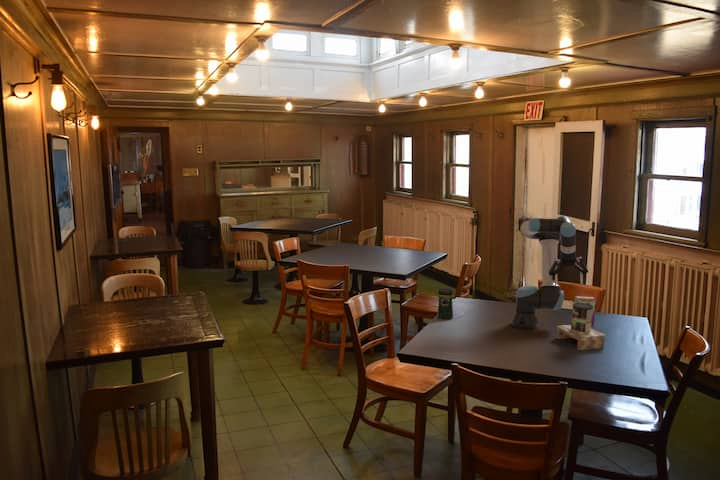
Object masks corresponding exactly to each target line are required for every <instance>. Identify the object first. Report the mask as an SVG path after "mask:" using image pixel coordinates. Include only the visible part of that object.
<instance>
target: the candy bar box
mask: <svg viewBox="0 0 720 480" xmlns="http://www.w3.org/2000/svg"><path fill="white" fill-rule="evenodd" d="M574 303H586V304H590V305H592V306H593V311H592V322H591V326H594V323H595V314H596V313H595V312H596V303H597V298H596V297H593V296H580V295H577V296H576V295H575V296H574Z"/></svg>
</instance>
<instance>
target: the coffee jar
mask: <svg viewBox="0 0 720 480" xmlns="http://www.w3.org/2000/svg"><path fill="white" fill-rule="evenodd" d="M454 296H455V293H454V289H453V288H446V287H440V288H439V289H438V292H437V298H438V304H437V305H438V306H437V314H436V315H437V316H436V317H437V318H438V319H442V320H451V319H453V318H454V307H453V299H454Z"/></svg>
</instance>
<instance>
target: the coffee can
mask: <svg viewBox="0 0 720 480" xmlns="http://www.w3.org/2000/svg"><path fill="white" fill-rule="evenodd" d="M592 311H593V306H592V305H590V304H586V303H575V302H574V303H572V313H571V324H570V325H571V330H572V331H574V332H577V333H590V332H591V329H592V325H591V322H592Z"/></svg>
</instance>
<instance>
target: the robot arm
mask: <svg viewBox="0 0 720 480" xmlns="http://www.w3.org/2000/svg"><path fill="white" fill-rule="evenodd" d="M519 231H520V233H521V235H522V236H523V237H525V238H527V239H531V240H538V244H540V246H541V279H542V280H541V283H542V284H541V285H540V286H539V288H538V287H537V286H534V285H523V286H520V287H517V289H516V293H515V309H514V310H515V311H514V314H513V316H512V319H511V326H513V327H514V328H516V329H517V328H518V329H521V330H522V329H523V330H535V329H537V328H538V327H539V321H538V318H537V310H546V311H549V310H550V311H559V310H561V309H562V307H563V304H564V300H565V292H564V290H562V289H561V286H560V285H559V283H558V273H559V272H560V271H561V270H562V269H563V268H564V267H565V268H567V267H572V266H573V267H574V268H576V269H577V270H578V271H579V272H580V276H579V277H580V278H579V279H580V281H579V282H580V285H584V282H583V281H584V280H583V279H585V277H586V276H585V275H586V274H588V273H589V270H588V267H587V266H586V264H585V263H584V261H583V258H582V256H578V257H576V256H577V253H576V252H577V251H576V243H577V242H576V239H577V238H576V235H577V234H576V233H577V229H576V225H575V224H574V223H573V222H571V220H570V219H569V217H567V216H565V215H560V216H558V217H556V218H544V217H543V218H541V217H540V218H538V217H531V218H529V220H525V221H524V222H522V223H521V224H520V226H519ZM559 243H560V258H559V259H558V253H557V252H558V250H557V249H558V248H557V247H558V246H557V245H558V244H559ZM577 262H579V264H580V265H581V266H580V265H579V264H577ZM558 264H559V265H558Z"/></svg>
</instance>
